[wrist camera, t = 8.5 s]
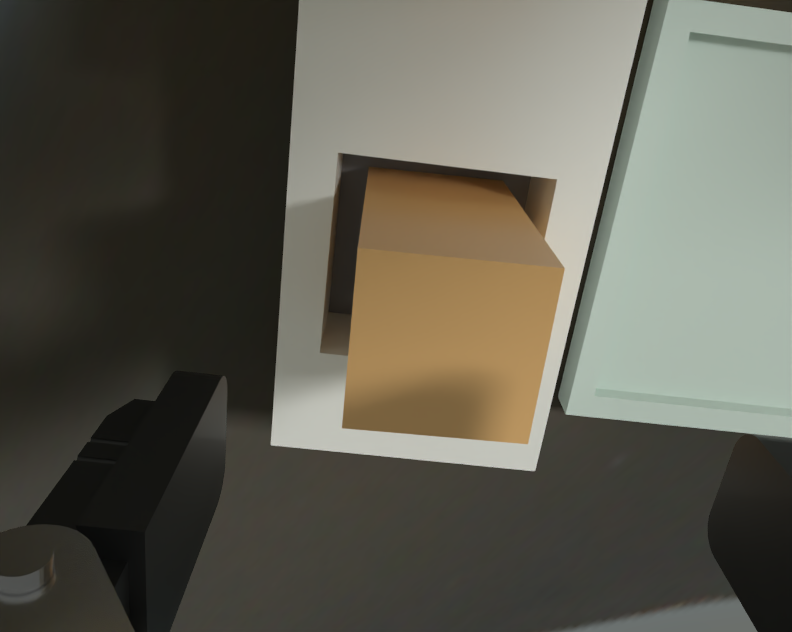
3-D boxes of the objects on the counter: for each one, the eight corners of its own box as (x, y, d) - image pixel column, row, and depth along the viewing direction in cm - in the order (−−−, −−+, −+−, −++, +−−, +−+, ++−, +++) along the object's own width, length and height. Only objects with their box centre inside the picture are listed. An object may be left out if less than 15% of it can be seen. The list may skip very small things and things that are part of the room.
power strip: (687, -405, 17) (986, -831, 8) (513, 404, 25) (575, 595, 17) (-31, -528, 16) (-504, -1143, 7) (40, 355, 24) (-143, 531, 16)
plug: (502, 180, 21) (564, 268, 14) (482, 304, 22) (528, 444, 15) (368, 166, 21) (358, 248, 13) (357, 292, 22) (342, 427, 15)
